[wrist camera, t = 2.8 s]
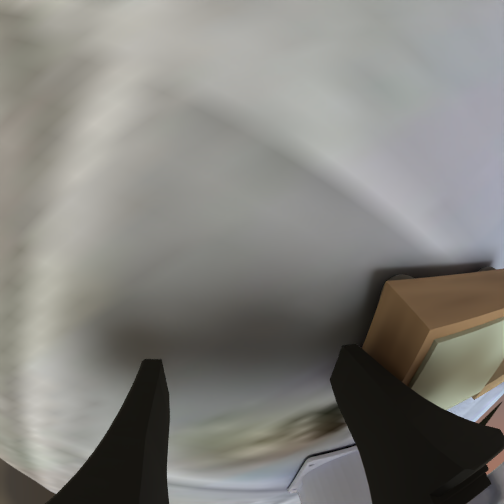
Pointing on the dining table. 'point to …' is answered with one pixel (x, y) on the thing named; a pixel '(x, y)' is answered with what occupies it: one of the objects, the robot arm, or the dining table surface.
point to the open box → (440, 333)
